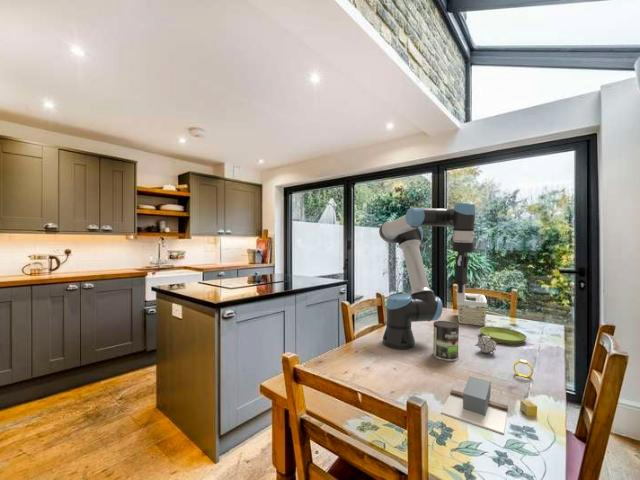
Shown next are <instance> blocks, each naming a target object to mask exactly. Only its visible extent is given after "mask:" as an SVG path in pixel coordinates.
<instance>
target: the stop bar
mask: <svg viewBox="0 0 640 480" xmlns="http://www.w3.org/2000/svg"><path fill="white" fill-rule="evenodd" d="M450 395H454V396H457V397H460V398H463V392H461V391H458V390H456V389H455V390H454V389H451V390H450V391H449V396H450ZM488 406H491V407H494V408H497V409H501V410H504V411H507V413H508V412H509V410H508V409H509V406H508V405H506V404H502V403H500V402H497V401H493V400H489V404H488Z"/></svg>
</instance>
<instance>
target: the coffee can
mask: <svg viewBox="0 0 640 480" xmlns="http://www.w3.org/2000/svg"><path fill="white" fill-rule="evenodd" d="M432 324H433V343H432V345H433V346H432V347H433V348H432V349H433V351H432V352H433V357H435V358H437V359H439V360H441V361H447V362H453V361H454V362H455V361H457V360H459V339H460V338H459V333H460V332H459V330H460V325H459V324H458V323H455V322H452V321H448V320H434V322H433V323H432Z"/></svg>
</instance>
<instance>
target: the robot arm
mask: <svg viewBox="0 0 640 480" xmlns="http://www.w3.org/2000/svg"><path fill="white" fill-rule="evenodd" d="M475 221H476V204H475V203H474V202H470V201H469V202H467V201H466V202H465V201H464V202H463V201H462V202H455V203H454V205H453V208H435V207H434V208H432V207H431V208H428V207H427V208H426V207H410V208H408V209H407V211H406V212H405V214H404V215H403V216H400V217H397V218H396V219H393V220H387V221H385V222H383V223H382V224H381V225H380V226H379V228H378V232H379V236H380V239H382V240H383V241H385V242H387V243H390V244H398V248H399V249H400V250H402V253H403V257H404V261H405V266H406V270H407V273H408V280H409V284H410V288H411V289H410V290H411V293H410V294H408V293H396V294H391V295H390V296H388V297H387V299H386V304H385V307H386V325H385V330H384V332H383V336H382V344H383V345H384V346H385V347H388V348H391V349H396V350H409V349H413V348H414V347H415V346H416V340H415V337H414V332H413V331H412V330H413V329H412V323H413V322H417V323H418V322H419V323H420V322H431V321H434V322H435V321H438V320H439V319H440V318H441V316H442V313H443V301H442V300H441V298H440V297H439V296H437V295H435V291H434V290H432V289H430V285H429V281H428V277H427V274H426V268H425V266H424V261H423V257H422V253H421V249H420V246H421V244H422V241H423V239H424V230H423V228H422V227H445V228H446V227H453V229H452V241H453V242H452V248H451V249H452V251H453V252H454V253H455V252H456V253H457V256H455V282H454V284H455V285H456V301H457V300H458V301H465V293H466V285H468V282H467V280H468V279H467V276H468V264H469V260H470V259H469V256H468V253H473V252H474V240H475V239H474V237H476V233H475Z"/></svg>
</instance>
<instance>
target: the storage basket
mask: <svg viewBox="0 0 640 480" xmlns="http://www.w3.org/2000/svg"><path fill="white" fill-rule="evenodd" d="M467 298H468V299H467ZM469 298H470V299H475V300H469ZM487 301H488V300H487V298H486V296H485V295H484V294H481V293H480V294H479V293H469V292H465V301H458V300H457V299H456V305H457V306H456V307H457V321H458V323H460V324H464V325H465V324H466V325H471V326H472V325H473V326H479V327H480V326H482V327H486V319H487V318H486V317H487V307H488V304H487V303H488V302H487Z"/></svg>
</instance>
